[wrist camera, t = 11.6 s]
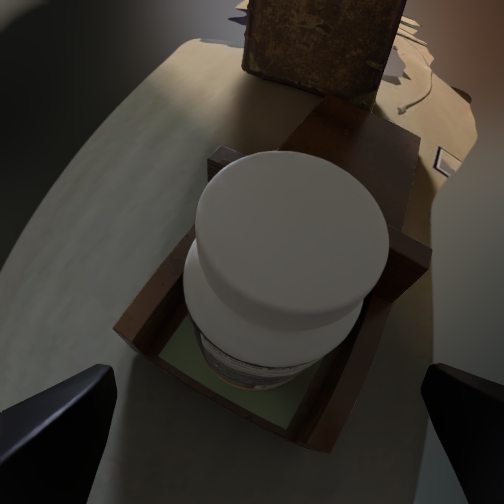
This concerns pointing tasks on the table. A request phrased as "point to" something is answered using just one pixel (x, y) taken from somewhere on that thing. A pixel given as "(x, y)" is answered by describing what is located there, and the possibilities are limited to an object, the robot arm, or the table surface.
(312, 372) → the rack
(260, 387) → the pill bottle
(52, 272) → the table surface
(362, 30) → the book
